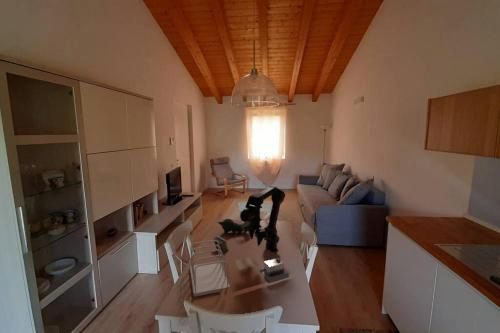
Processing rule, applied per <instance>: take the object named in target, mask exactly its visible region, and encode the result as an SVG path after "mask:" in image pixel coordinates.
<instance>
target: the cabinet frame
mask: <svg viewBox="0 0 500 333" xmlns="http://www.w3.org/2000/svg"><path fill="white" fill-rule="evenodd" d="M259 272H261V273H262V275H263V276H264V277H265V278H266V279H267V280H268V281H266V282H267V284H271V283H276V282H278V281H279V282H280V281H281V280H286V279H288V278H290V273H289V272H287V271H285V270H284V273H283V274H280V275H276V276H273V277H270V278H269V277H268V275H267V274H266V273H265V272H264V267H263V268H259Z"/></svg>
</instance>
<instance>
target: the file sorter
mask: <svg viewBox="0 0 500 333" xmlns="http://www.w3.org/2000/svg"><path fill="white" fill-rule="evenodd" d="M214 241H216V242H218V241H217V240H214V239H211V240H204V241H203V240H202V241H196V242H193V243H191V245H190V247H189V248H190V266H189V272H190V280H191V286H192V293H193V297H194V298H195V297H201V296H205V295H211V294H216V293H219V292H221V293H222V292H223V290H224V289H229V288H231V287H230V286H231V285H230V284H229V263H228V262H227V261H226V259H225V258H226V257H225V256H224V254H223V250H222V251H221V248H220V246H219V242H218V245H215V244H212V245H207V246H200V247H194V248H193V249H192V247H193V245H196V244H197V245H198V244H203V243H211V242H212V243H213V242H214ZM216 246H218V249H212V250H206V251H200V252H195V253H193V252H194V251H195V250H200V249H207V248H211V247H216ZM219 248H220V250H219ZM212 252H217V253H218V254H216V255H211V256H206V257H205V256H204V257H200V258H197V259H195V260H193V259H194V257H195V256H196V255H201V254H206V253H212ZM216 257H217V258H218V259H217V260H218V261H212V262H206V263H200V264H199V263H198V264H195V262H197V261H200V260H206V259H212V258H216Z"/></svg>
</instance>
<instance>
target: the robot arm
mask: <svg viewBox="0 0 500 333" xmlns="http://www.w3.org/2000/svg"><path fill="white" fill-rule="evenodd" d="M270 197H271V198H270ZM267 198H270V199H271V202H272V206H271V210H270V214H269V219H268V225H267V226H265V227H264V228H262V225H261V221H262V218H261V209H262V208H263V206H262V205H263V203H264V201H265V200H267ZM285 198H286V193H285V192H284V190H282V189H279V188H278V187H277V186H274V185H269V186H268V187H266V188H265V189H264V190H262V191H260V192H259V193H253V194H251V195H249V196H248V199H247V202H246V204H245V206H244V209H242V211H243V212H241V211H240V214H239V218H240V220H241V221H242V223H240V224H241V228H242V230H243V232H244V233H245V232H246V233H247V232H248V233H249V234H248V235H249V238H250V240H253V239H254V236H255V238H256V243H257V246H258V247H259V246H261V244H262V242H263V240H264V241H265V249H266V250H268V251H270V253H273V252H278V251H279V249H278V244H279V241H280V236H279V235H278V229H277V227H276V226H277V222H278V217H279V213H280V207H281V204H282V203H283V202H284V201H285Z"/></svg>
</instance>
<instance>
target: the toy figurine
mask: <svg viewBox="0 0 500 333" xmlns="http://www.w3.org/2000/svg"><path fill="white" fill-rule="evenodd" d="M241 212H243V210H242V211H240V213H241ZM217 223H218V224H219V225H220V226H221V228H222V230H223V233H224V234H225V235H227V234H228V233H229V232H232V234H233V235H235V234H237V233H238V234H239V235H242V233H243V232H244V231H243V230H242V228H241V224H242V223H237V222H235V221H234V220H232V219H231V218H226V219H224V220H223V221H218V222H217ZM244 233H247V232H244Z"/></svg>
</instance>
